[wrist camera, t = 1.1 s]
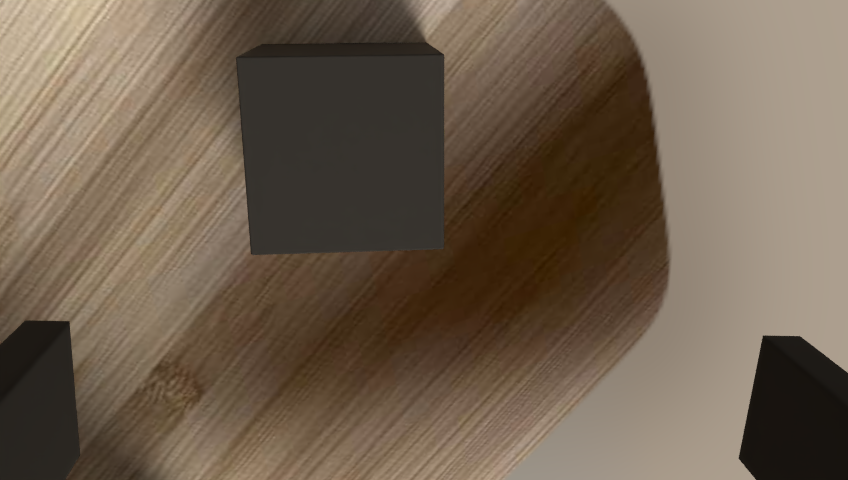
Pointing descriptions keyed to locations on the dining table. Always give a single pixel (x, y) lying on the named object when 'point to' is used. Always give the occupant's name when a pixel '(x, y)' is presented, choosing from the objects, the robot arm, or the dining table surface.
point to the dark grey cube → (343, 147)
